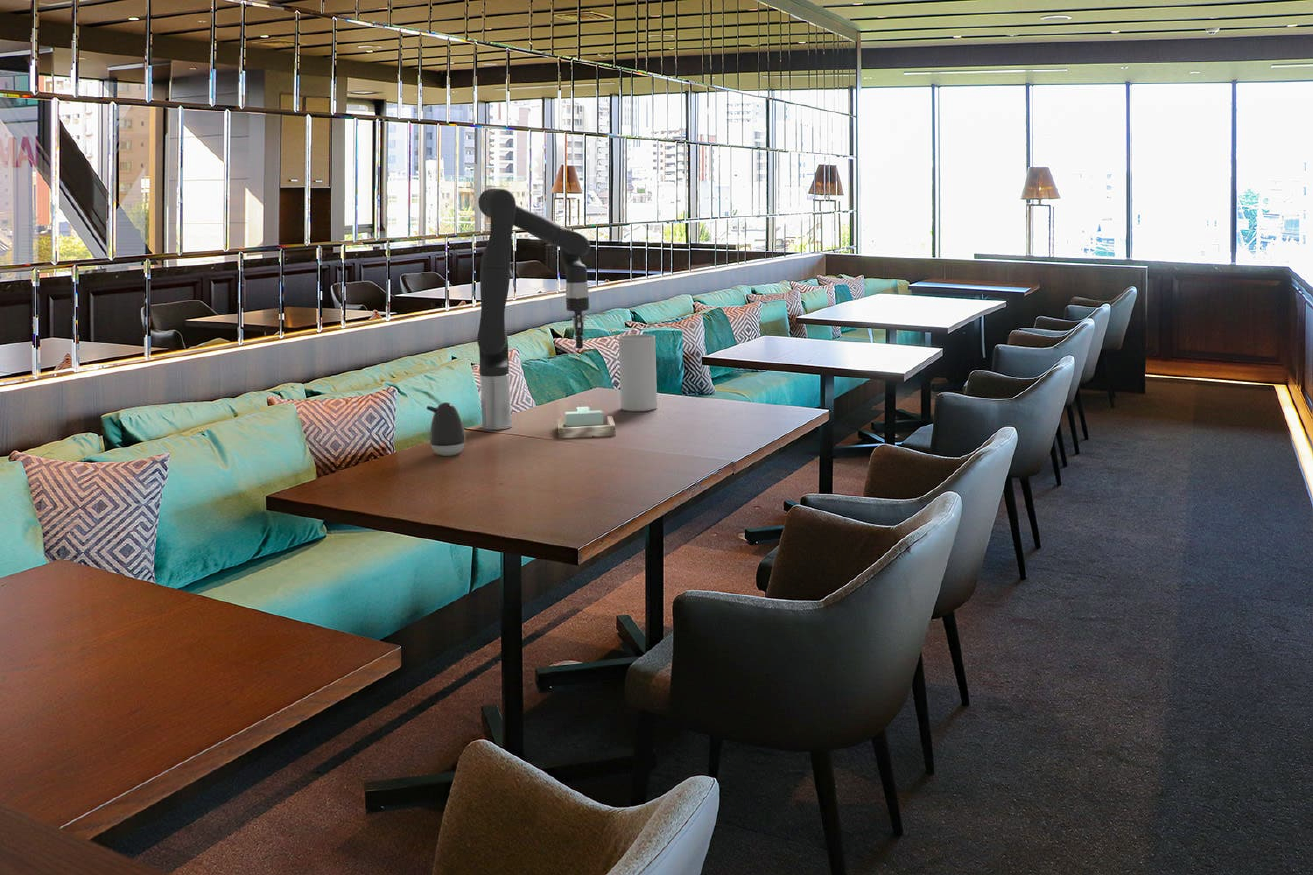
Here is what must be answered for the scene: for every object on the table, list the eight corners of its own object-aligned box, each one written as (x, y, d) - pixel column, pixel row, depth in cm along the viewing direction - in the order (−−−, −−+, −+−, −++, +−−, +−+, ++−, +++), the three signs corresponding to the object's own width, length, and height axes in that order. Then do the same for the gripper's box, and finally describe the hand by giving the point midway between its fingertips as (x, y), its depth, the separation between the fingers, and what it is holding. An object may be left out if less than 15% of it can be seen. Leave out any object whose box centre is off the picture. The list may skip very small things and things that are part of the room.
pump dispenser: (432, 451, 326) (428, 400, 323) (467, 449, 327) (464, 398, 324) (427, 458, 316) (424, 406, 313) (464, 457, 317) (461, 404, 314)
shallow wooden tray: (558, 438, 339) (558, 428, 339) (557, 427, 355) (557, 418, 355) (615, 435, 341) (615, 425, 340) (612, 425, 357) (611, 416, 357)
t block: (565, 419, 369) (564, 407, 368) (601, 417, 371) (600, 406, 370) (566, 426, 358) (565, 414, 357) (603, 424, 359) (602, 412, 358)
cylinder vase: (656, 411, 379) (654, 338, 374) (620, 412, 379) (617, 339, 374) (657, 405, 391) (655, 334, 386) (621, 405, 391) (619, 335, 386)
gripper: (565, 295, 373) (567, 346, 377) (566, 298, 360) (568, 351, 364) (587, 294, 374) (589, 345, 377) (589, 297, 361) (591, 350, 365)
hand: (579, 348), depth 371 cm, fingers closed
